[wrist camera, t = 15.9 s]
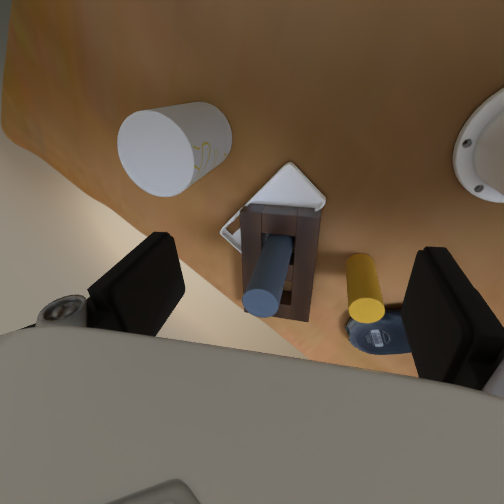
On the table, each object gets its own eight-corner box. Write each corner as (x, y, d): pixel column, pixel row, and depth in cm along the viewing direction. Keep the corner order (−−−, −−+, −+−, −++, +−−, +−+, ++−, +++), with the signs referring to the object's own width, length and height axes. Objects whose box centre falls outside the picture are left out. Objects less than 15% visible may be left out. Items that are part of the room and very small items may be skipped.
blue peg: (295, 227, 40) (279, 291, 28) (293, 250, 43) (278, 320, 30) (268, 224, 41) (241, 286, 29) (268, 247, 43) (242, 314, 31)
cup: (203, 178, 40) (160, 211, 30) (163, 130, 38) (103, 148, 28) (244, 142, 36) (210, 166, 26) (202, 86, 34) (148, 88, 24)
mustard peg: (377, 254, 40) (388, 300, 31) (371, 277, 42) (380, 326, 33) (347, 251, 40) (351, 295, 32) (343, 273, 43) (346, 320, 34)
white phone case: (254, 259, 45) (328, 199, 37) (252, 264, 44) (327, 203, 36) (220, 228, 44) (289, 159, 36) (217, 232, 42) (288, 161, 34)
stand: (321, 207, 38) (320, 217, 35) (309, 307, 48) (308, 322, 45) (246, 201, 40) (239, 211, 37) (249, 298, 50) (244, 312, 47)
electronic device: (438, 286, 41) (338, 312, 46) (458, 314, 37) (345, 340, 41) (443, 325, 46) (352, 345, 50) (462, 354, 42) (360, 373, 46)
